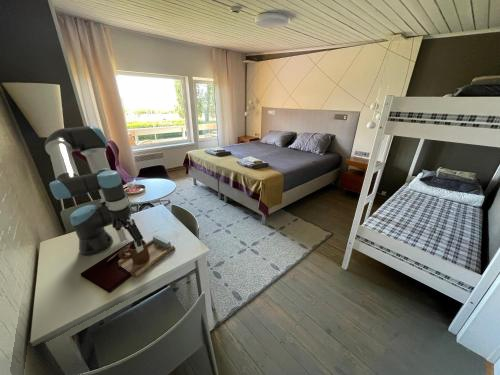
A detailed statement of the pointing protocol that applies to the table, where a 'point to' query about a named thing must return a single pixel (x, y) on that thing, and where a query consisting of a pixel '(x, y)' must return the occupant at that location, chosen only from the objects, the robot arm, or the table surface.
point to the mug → (136, 254)
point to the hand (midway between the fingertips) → (131, 245)
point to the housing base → (155, 256)
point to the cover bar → (161, 241)
